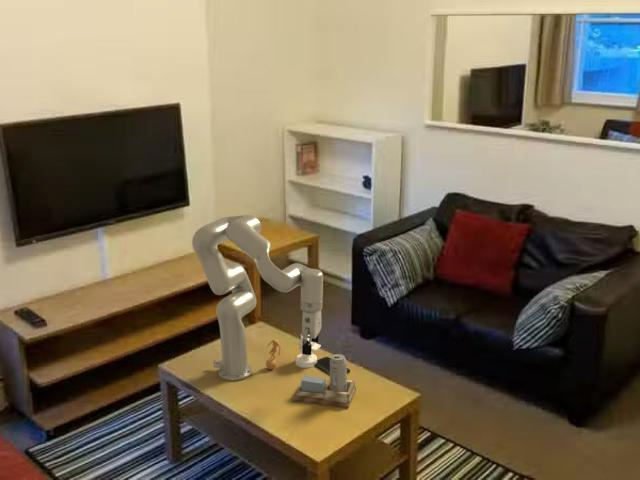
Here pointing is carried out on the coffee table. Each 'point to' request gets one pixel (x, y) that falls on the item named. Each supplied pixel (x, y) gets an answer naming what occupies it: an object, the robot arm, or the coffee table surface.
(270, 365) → the figurine
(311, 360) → the character figurine
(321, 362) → the phone
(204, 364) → the coffee table surface
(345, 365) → the energy drink can
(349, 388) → the jig
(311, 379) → the wing block
